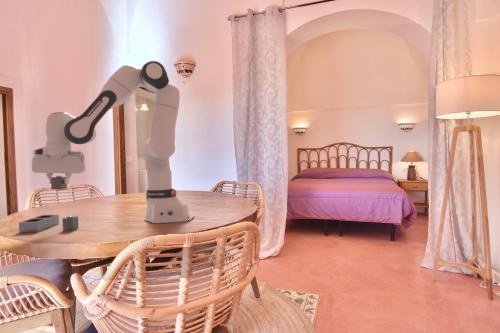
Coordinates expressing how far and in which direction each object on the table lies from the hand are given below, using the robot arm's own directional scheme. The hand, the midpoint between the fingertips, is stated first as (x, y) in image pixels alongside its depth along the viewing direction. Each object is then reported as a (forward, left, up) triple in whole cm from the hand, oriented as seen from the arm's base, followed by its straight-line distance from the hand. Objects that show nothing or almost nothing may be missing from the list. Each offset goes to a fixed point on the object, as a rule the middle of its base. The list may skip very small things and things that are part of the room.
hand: (59, 183), depth 123 cm
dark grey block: (-7, +4, -19) cm, 20 cm away
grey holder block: (+8, +1, -18) cm, 20 cm away
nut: (0, 0, -2) cm, 2 cm away
